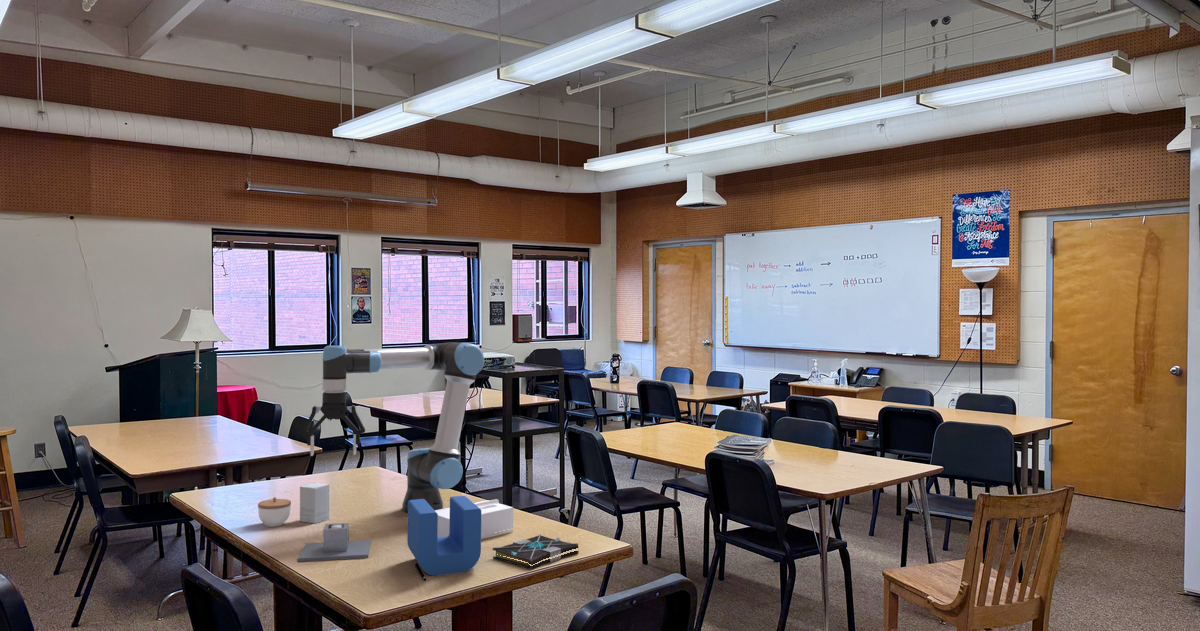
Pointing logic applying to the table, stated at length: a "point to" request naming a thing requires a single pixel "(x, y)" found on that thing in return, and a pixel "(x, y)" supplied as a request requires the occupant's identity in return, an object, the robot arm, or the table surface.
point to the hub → (335, 538)
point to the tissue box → (482, 519)
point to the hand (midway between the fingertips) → (333, 454)
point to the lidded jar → (274, 511)
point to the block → (445, 551)
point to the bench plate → (316, 552)
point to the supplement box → (314, 503)
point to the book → (534, 551)
